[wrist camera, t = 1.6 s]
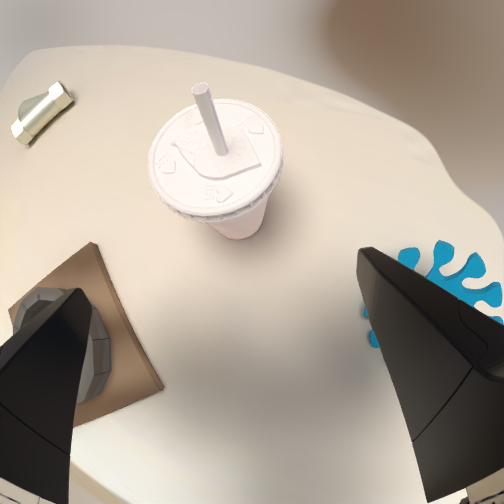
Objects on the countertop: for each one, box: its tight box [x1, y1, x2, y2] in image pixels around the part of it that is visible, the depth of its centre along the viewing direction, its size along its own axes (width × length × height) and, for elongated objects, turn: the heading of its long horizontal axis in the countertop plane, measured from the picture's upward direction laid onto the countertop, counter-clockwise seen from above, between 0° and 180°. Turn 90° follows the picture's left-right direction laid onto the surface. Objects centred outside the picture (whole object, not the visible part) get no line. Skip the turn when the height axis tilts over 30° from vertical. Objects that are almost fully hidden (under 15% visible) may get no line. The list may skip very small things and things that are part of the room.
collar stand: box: [8, 242, 164, 427], centre depth 19 cm, size 13×13×4 cm
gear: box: [364, 240, 504, 347], centre depth 17 cm, size 11×6×10 cm
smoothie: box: [148, 82, 283, 239], centre depth 15 cm, size 6×6×14 cm
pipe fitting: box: [11, 81, 74, 145], centre depth 26 cm, size 8×4×7 cm
